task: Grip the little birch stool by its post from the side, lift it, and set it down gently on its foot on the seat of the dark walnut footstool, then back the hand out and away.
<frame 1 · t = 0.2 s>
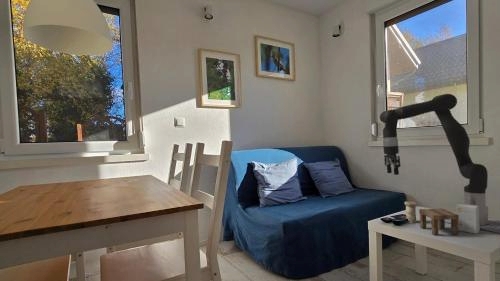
hand: (392, 173, 150), 29 cm above the table, tool pointing down, fingers open, 8 cm apart
walnut footstool: (438, 231, 138), on the table
small box: (468, 231, 137), on the table
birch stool: (411, 221, 154), on the table
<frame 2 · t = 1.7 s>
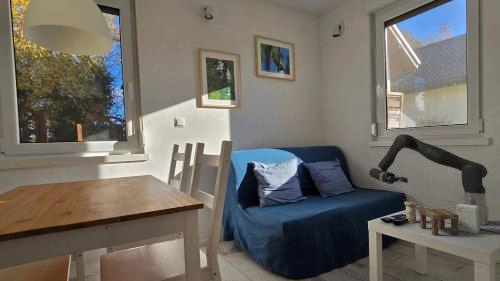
hand: (399, 181, 165), 22 cm above the table, tool horizontal, fingers open, 8 cm apart
nothing on the table moved.
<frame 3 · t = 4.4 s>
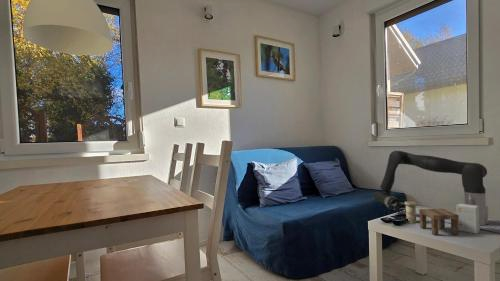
hand: (406, 209, 159), 6 cm above the table, tool horizontal, fingers open, 8 cm apart
nothing on the table moved.
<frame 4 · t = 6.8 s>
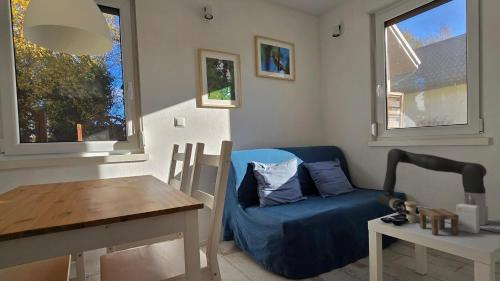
hand: (413, 212, 151), 6 cm above the table, tool horizontal, fingers closed on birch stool, 4 cm apart
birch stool: (411, 221, 154), on the table, touching gripper
everything else where it was.
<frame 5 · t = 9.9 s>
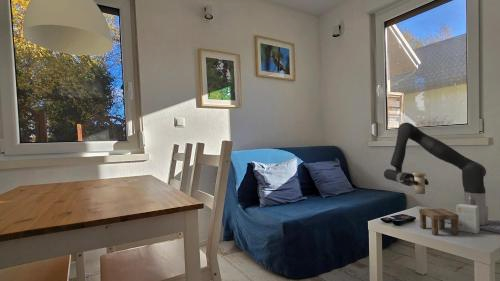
hand: (422, 183, 145), 24 cm above the table, tool horizontal, fingers closed on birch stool, 4 cm apart
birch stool: (420, 193, 148), point 18 cm above the table, touching gripper
everything else where it was.
when the fingers open (17 cm above the table, at t = 12.9 s): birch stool drops 1 cm, resting on walnut footstool.
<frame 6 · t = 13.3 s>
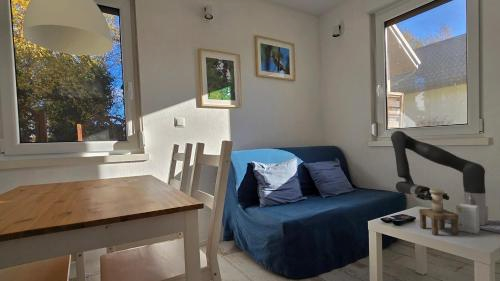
hand: (440, 198, 136), 18 cm above the table, tool horizontal, fingers open, 8 cm apart
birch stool: (437, 211, 138), point 10 cm above the table, touching walnut footstool
everything else where it was.
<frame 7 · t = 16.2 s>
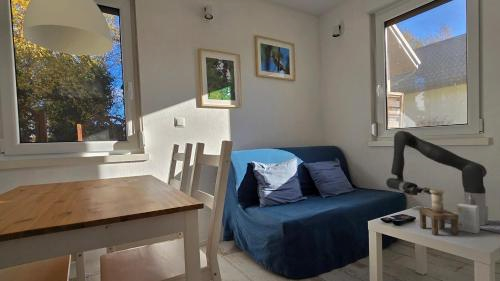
hand: (424, 193, 148), 17 cm above the table, tool horizontal, fingers open, 8 cm apart
nothing on the table moved.
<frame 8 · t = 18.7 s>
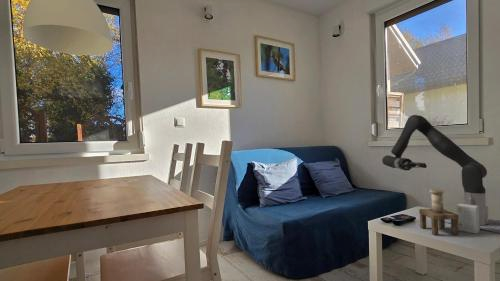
hand: (418, 166, 154), 32 cm above the table, tool horizontal, fingers open, 8 cm apart
nothing on the table moved.
at the end: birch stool inside the target area on the walnut footstool (0.1 cm from its centre), point 10.0 cm above the walnut footstool's base; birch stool tilted 1°; the gripper is holding nothing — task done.
